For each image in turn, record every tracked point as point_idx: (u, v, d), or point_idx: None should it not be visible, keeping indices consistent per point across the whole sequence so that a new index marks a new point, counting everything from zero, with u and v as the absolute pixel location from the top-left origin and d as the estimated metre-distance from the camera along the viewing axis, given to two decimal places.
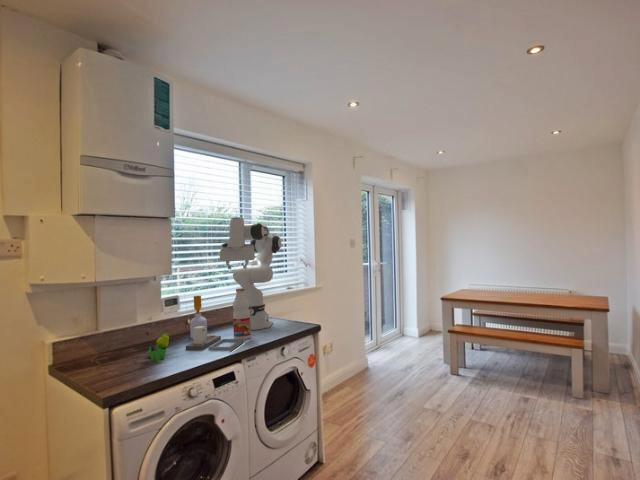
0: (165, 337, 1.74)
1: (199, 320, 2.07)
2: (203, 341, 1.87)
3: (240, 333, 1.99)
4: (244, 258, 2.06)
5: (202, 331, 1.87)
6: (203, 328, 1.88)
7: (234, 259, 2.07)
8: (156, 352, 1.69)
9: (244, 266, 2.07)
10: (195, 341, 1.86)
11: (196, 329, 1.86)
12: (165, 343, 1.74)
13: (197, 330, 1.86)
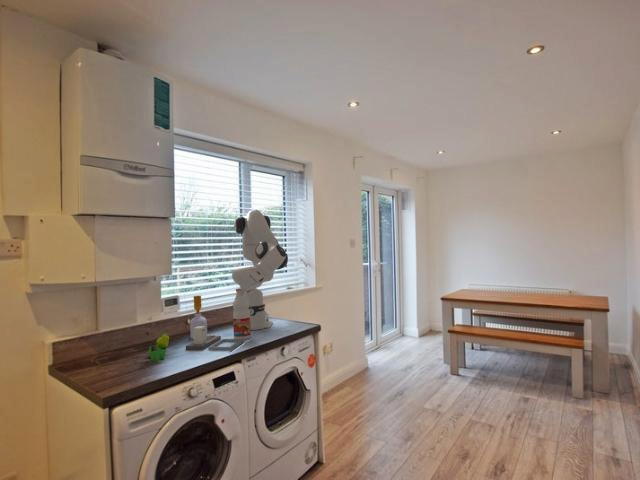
0: (165, 337, 1.74)
1: (199, 320, 2.07)
2: (203, 341, 1.87)
3: (240, 333, 1.99)
4: None
5: (202, 331, 1.87)
6: (203, 328, 1.88)
7: (252, 288, 1.81)
8: (156, 352, 1.69)
9: (250, 292, 1.88)
10: (195, 341, 1.86)
11: (196, 329, 1.86)
12: (165, 343, 1.74)
13: (197, 330, 1.86)
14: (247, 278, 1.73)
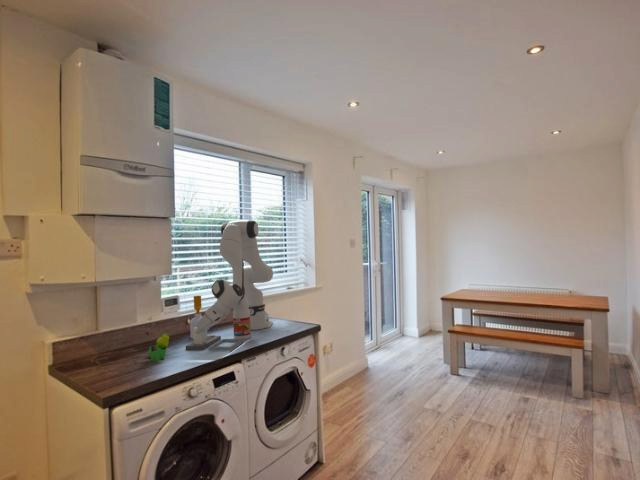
0: (165, 337, 1.74)
1: (199, 320, 2.07)
2: (203, 341, 1.87)
3: (240, 332, 1.99)
4: (215, 323, 1.92)
5: (202, 331, 1.87)
6: None
7: (209, 326, 1.86)
8: (156, 352, 1.69)
9: (209, 328, 1.92)
10: (195, 341, 1.86)
11: (196, 329, 1.86)
12: (165, 343, 1.74)
13: None
14: (203, 318, 1.77)
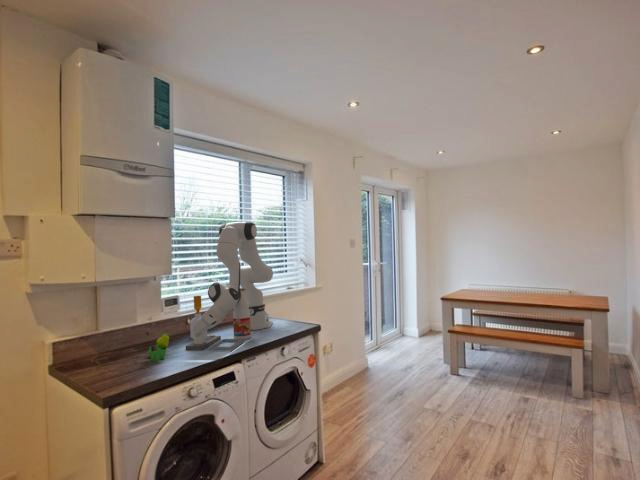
0: (165, 337, 1.74)
1: None
2: (203, 341, 1.87)
3: (240, 332, 1.99)
4: None
5: None
6: None
7: (206, 330, 1.86)
8: (156, 352, 1.69)
9: None
10: (195, 341, 1.86)
11: None
12: (165, 343, 1.74)
13: None
14: (199, 322, 1.78)
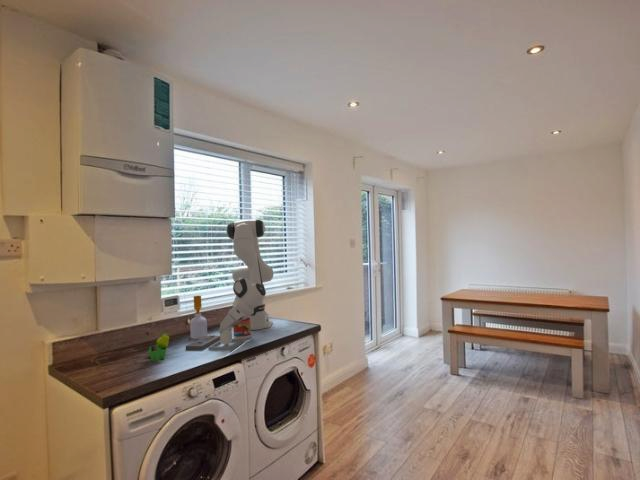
0: (165, 337, 1.74)
1: (199, 320, 2.07)
2: (229, 341, 1.86)
3: (240, 333, 1.99)
4: (238, 322, 1.92)
5: (229, 331, 1.86)
6: (229, 328, 1.87)
7: (232, 325, 1.85)
8: (156, 352, 1.69)
9: None
10: (222, 341, 1.85)
11: None
12: (165, 343, 1.74)
13: None
14: (227, 317, 1.77)
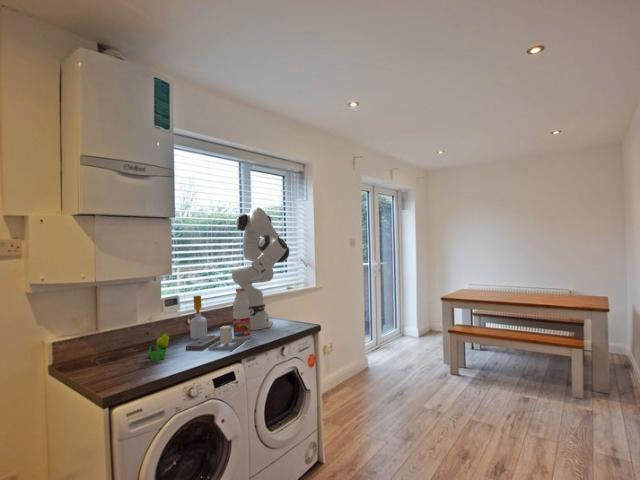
0: (165, 337, 1.74)
1: (199, 320, 2.07)
2: (229, 341, 1.86)
3: (240, 333, 1.99)
4: (259, 278, 1.96)
5: (229, 331, 1.86)
6: (229, 328, 1.87)
7: (254, 279, 1.90)
8: (156, 352, 1.69)
9: None
10: (222, 341, 1.85)
11: (223, 329, 1.85)
12: (165, 343, 1.74)
13: (224, 329, 1.85)
14: (250, 269, 1.81)
